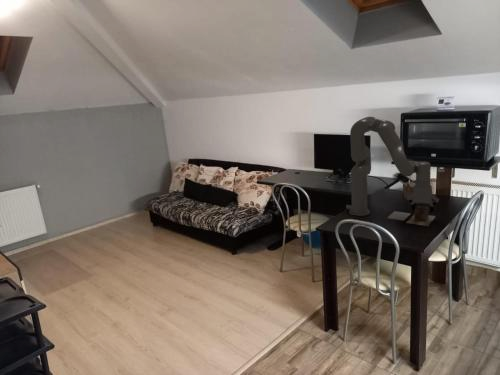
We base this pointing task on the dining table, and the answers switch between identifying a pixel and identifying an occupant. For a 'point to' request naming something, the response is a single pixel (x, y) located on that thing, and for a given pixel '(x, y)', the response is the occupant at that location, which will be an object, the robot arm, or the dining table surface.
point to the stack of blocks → (408, 190)
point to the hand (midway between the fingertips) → (422, 211)
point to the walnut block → (421, 213)
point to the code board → (426, 223)
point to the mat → (399, 215)
